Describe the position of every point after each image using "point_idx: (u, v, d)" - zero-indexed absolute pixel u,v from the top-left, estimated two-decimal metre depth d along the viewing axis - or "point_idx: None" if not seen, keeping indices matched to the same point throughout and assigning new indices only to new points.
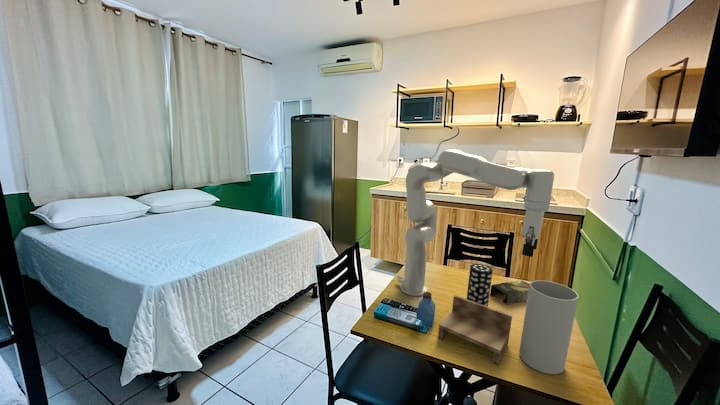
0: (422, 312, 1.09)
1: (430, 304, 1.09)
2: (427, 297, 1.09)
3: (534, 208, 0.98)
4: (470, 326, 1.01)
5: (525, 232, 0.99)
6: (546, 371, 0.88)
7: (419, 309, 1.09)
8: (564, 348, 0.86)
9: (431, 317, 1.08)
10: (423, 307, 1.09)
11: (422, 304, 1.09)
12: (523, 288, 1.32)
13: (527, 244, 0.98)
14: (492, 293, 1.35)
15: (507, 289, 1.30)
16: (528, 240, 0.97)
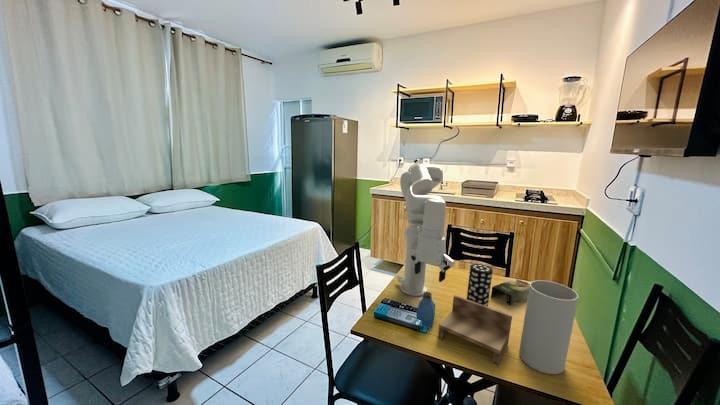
0: (422, 312, 1.09)
1: (430, 304, 1.09)
2: (427, 297, 1.09)
3: (442, 236, 1.03)
4: (470, 326, 1.01)
5: (442, 261, 1.03)
6: (546, 371, 0.88)
7: (419, 309, 1.09)
8: (564, 348, 0.86)
9: (431, 317, 1.08)
10: (423, 307, 1.09)
11: (422, 304, 1.09)
12: (522, 287, 1.33)
13: (445, 270, 1.04)
14: (492, 295, 1.34)
15: (508, 290, 1.29)
16: (450, 266, 1.02)
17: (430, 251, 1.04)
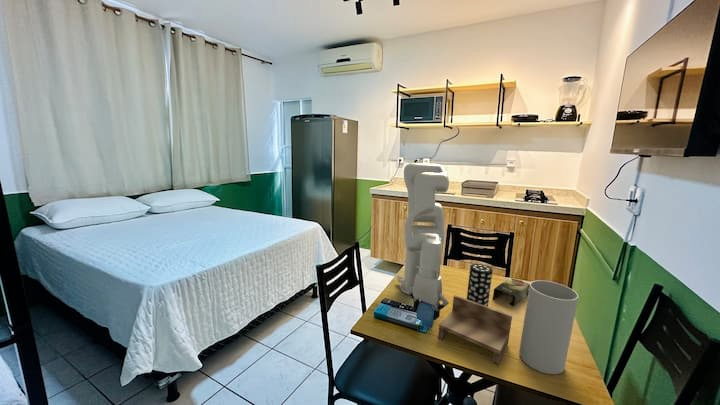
0: (422, 312, 1.09)
1: (430, 304, 1.09)
2: None
3: (438, 276, 1.06)
4: (470, 326, 1.01)
5: (437, 301, 1.06)
6: (546, 371, 0.88)
7: (419, 309, 1.09)
8: (564, 348, 0.86)
9: (431, 317, 1.08)
10: (423, 307, 1.09)
11: (422, 304, 1.09)
12: (520, 286, 1.33)
13: (439, 309, 1.07)
14: (493, 296, 1.32)
15: (510, 290, 1.29)
16: (444, 306, 1.06)
17: (427, 290, 1.07)
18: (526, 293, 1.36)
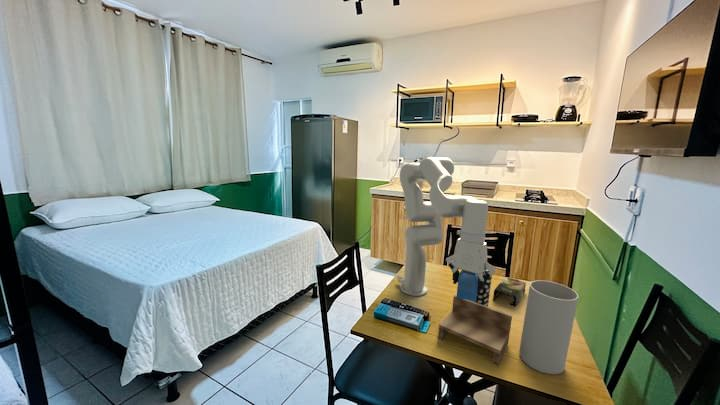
0: (465, 283, 0.96)
1: (473, 274, 0.96)
2: None
3: (483, 241, 0.94)
4: (470, 326, 1.01)
5: None
6: (546, 371, 0.88)
7: (461, 279, 0.97)
8: (564, 348, 0.86)
9: (475, 288, 0.95)
10: (465, 277, 0.96)
11: (464, 274, 0.97)
12: (517, 285, 1.34)
13: (485, 279, 0.95)
14: (493, 297, 1.31)
15: (510, 291, 1.28)
16: (491, 275, 0.93)
17: (470, 257, 0.94)
18: (523, 292, 1.37)
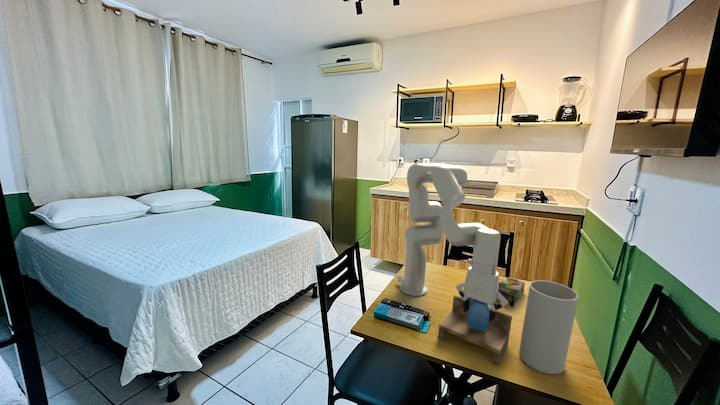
0: (476, 313, 0.95)
1: (485, 303, 0.95)
2: None
3: (495, 271, 0.93)
4: None
5: None
6: (546, 371, 0.88)
7: (472, 309, 0.95)
8: (564, 348, 0.86)
9: (486, 318, 0.94)
10: (477, 307, 0.95)
11: (475, 303, 0.96)
12: (516, 285, 1.34)
13: None
14: None
15: (508, 290, 1.29)
16: (502, 305, 0.93)
17: (482, 287, 0.93)
18: (521, 292, 1.37)
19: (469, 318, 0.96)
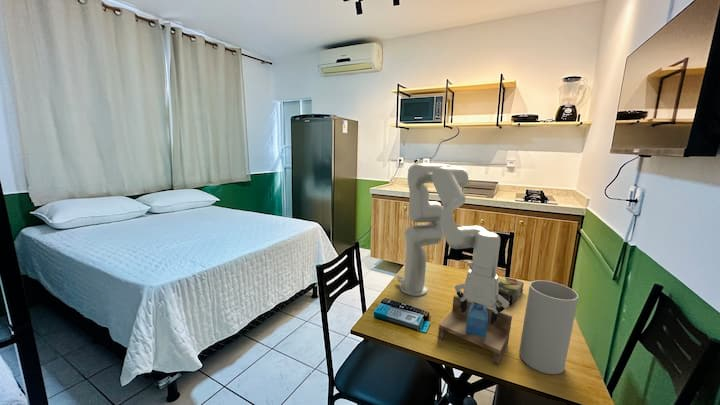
0: (474, 319, 0.96)
1: (483, 310, 0.96)
2: None
3: (495, 274, 0.93)
4: None
5: (495, 301, 0.92)
6: (546, 371, 0.88)
7: (470, 315, 0.96)
8: (564, 348, 0.86)
9: (485, 325, 0.95)
10: (475, 313, 0.96)
11: (474, 309, 0.96)
12: (515, 285, 1.34)
13: None
14: None
15: (506, 290, 1.29)
16: None
17: (482, 290, 0.93)
18: (520, 292, 1.37)
19: (467, 324, 0.97)
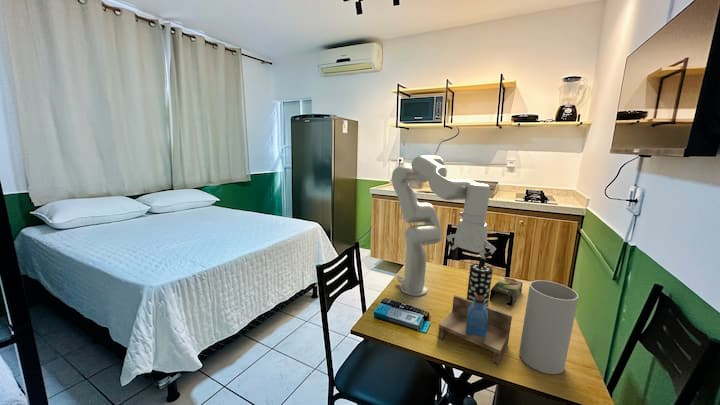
0: (474, 319, 0.96)
1: (483, 310, 0.96)
2: (480, 302, 0.96)
3: (484, 222, 0.99)
4: None
5: (483, 247, 0.99)
6: (546, 371, 0.88)
7: (470, 315, 0.96)
8: (564, 348, 0.86)
9: (485, 325, 0.95)
10: (475, 313, 0.96)
11: (474, 309, 0.96)
12: (514, 285, 1.34)
13: (486, 257, 1.00)
14: (490, 297, 1.32)
15: (506, 290, 1.29)
16: (492, 253, 0.99)
17: (471, 237, 1.00)
18: (519, 291, 1.37)
19: (467, 324, 0.97)
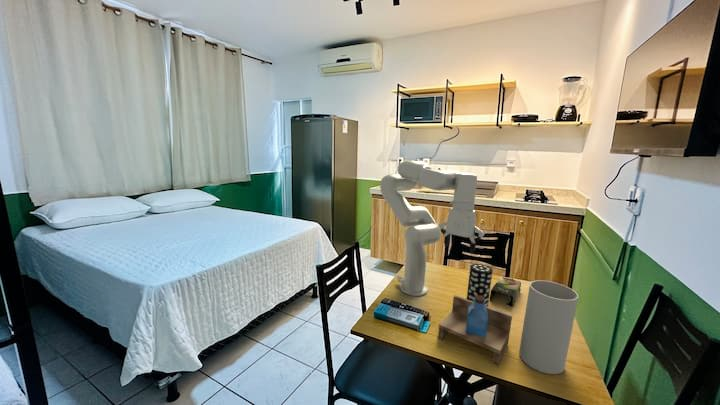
0: (474, 319, 0.96)
1: (483, 310, 0.96)
2: (480, 302, 0.96)
3: (473, 208, 1.07)
4: None
5: (473, 232, 1.07)
6: (546, 371, 0.88)
7: (470, 315, 0.96)
8: (564, 348, 0.86)
9: (485, 325, 0.95)
10: (475, 313, 0.96)
11: (474, 309, 0.96)
12: (513, 285, 1.34)
13: None
14: None
15: (506, 290, 1.28)
16: None
17: (461, 223, 1.08)
18: (518, 291, 1.37)
19: (467, 324, 0.97)
